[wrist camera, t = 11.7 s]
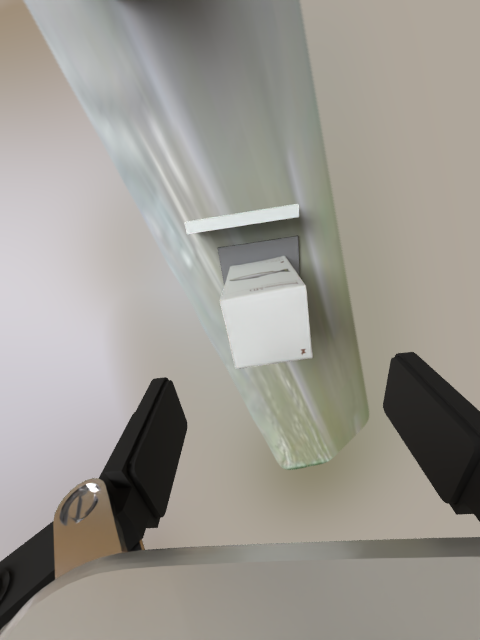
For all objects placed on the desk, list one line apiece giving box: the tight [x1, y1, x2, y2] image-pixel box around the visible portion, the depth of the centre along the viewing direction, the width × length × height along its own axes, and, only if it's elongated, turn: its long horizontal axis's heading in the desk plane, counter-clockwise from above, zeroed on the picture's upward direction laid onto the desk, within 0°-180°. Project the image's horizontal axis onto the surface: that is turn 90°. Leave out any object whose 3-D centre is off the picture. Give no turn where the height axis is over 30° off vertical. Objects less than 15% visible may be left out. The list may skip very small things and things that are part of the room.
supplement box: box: [220, 256, 313, 369], centre depth 26 cm, size 7×7×13 cm
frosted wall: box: [184, 204, 299, 234], centre depth 26 cm, size 1×12×4 cm, turn 98°
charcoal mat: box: [218, 236, 299, 285], centre depth 32 cm, size 12×10×1 cm
